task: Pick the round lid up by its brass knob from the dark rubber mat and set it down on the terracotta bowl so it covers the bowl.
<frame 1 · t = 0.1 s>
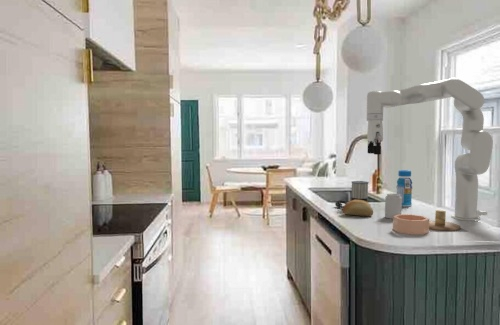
hand: (373, 153, 199), 31 cm above the counter, tool pointing down, fingers open, 9 cm apart
beverage bottle: (403, 205, 239), on the counter
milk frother: (351, 208, 229), on the counter
mat: (439, 228, 182), on the counter
bowl: (410, 231, 175), on the counter
bread roll: (357, 215, 210), on the counter
lid: (440, 226, 182), resting on mat
can: (393, 219, 202), on the counter
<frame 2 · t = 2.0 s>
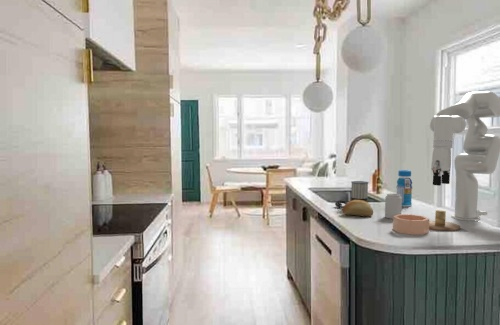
hand: (441, 184, 180), 19 cm above the counter, tool pointing down, fingers open, 9 cm apart
nothing on the counter moved.
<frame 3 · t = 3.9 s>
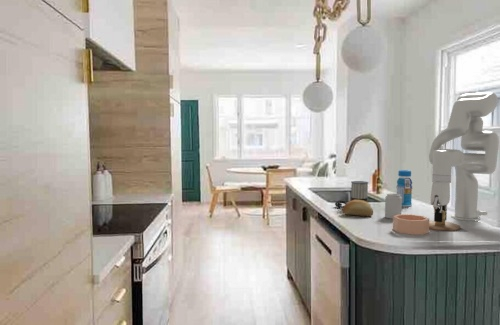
hand: (440, 220, 181), 3 cm above the counter, tool pointing down, fingers closed on lid, 4 cm apart
lid: (440, 226, 182), resting on mat, touching gripper
everything else where it was.
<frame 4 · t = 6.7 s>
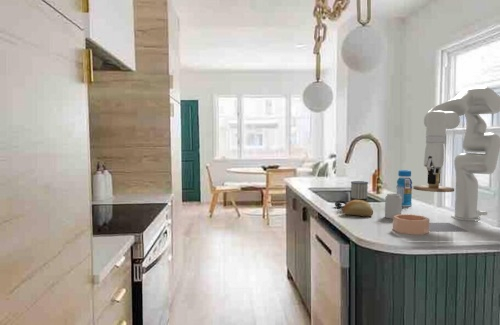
hand: (433, 183, 178), 20 cm above the counter, tool pointing down, fingers closed on lid, 4 cm apart
lid: (433, 189, 178), point 17 cm above the counter, touching gripper
everything else where it was.
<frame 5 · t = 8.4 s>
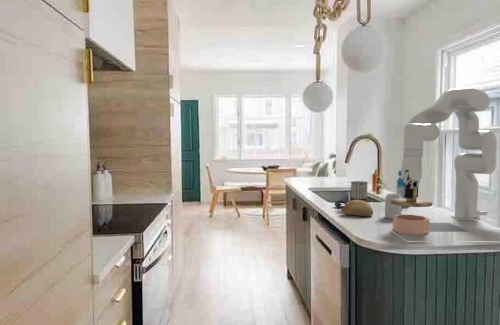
hand: (411, 197, 174), 15 cm above the counter, tool pointing down, fingers closed on lid, 4 cm apart
lid: (411, 203, 174), point 12 cm above the counter, touching gripper
everything else where it was.
when the fingers open (10 cm above the counter, at t = 9.4 s): lid drops 1 cm, resting on bowl.
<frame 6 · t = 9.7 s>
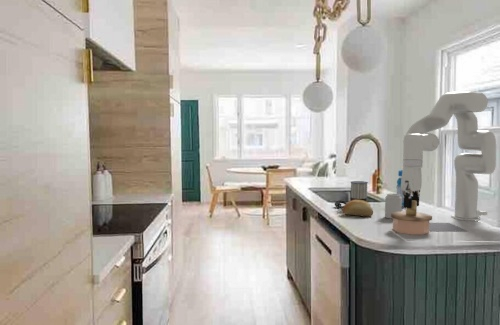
hand: (411, 206, 174), 11 cm above the counter, tool pointing down, fingers open, 6 cm apart
bowl: (410, 231, 175), on the counter, touching lid
lid: (411, 217, 174), point 6 cm above the counter, touching bowl
everything else where it was.
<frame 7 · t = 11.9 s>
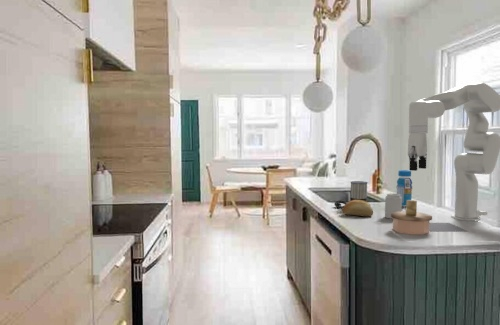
hand: (417, 169, 182), 25 cm above the counter, tool pointing down, fingers open, 9 cm apart
nothing on the counter moved.
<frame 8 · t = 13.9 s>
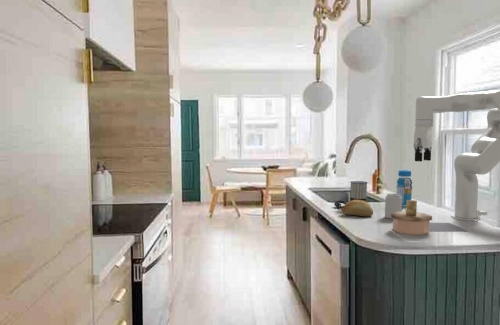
hand: (422, 160, 194), 28 cm above the counter, tool pointing down, fingers open, 9 cm apart
nothing on the counter moved.
at the end: lid 0.1 cm off-centre on the bowl, point 6.0 cm above the bowl's base; lid tilted 0°; the gripper is holding nothing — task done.
